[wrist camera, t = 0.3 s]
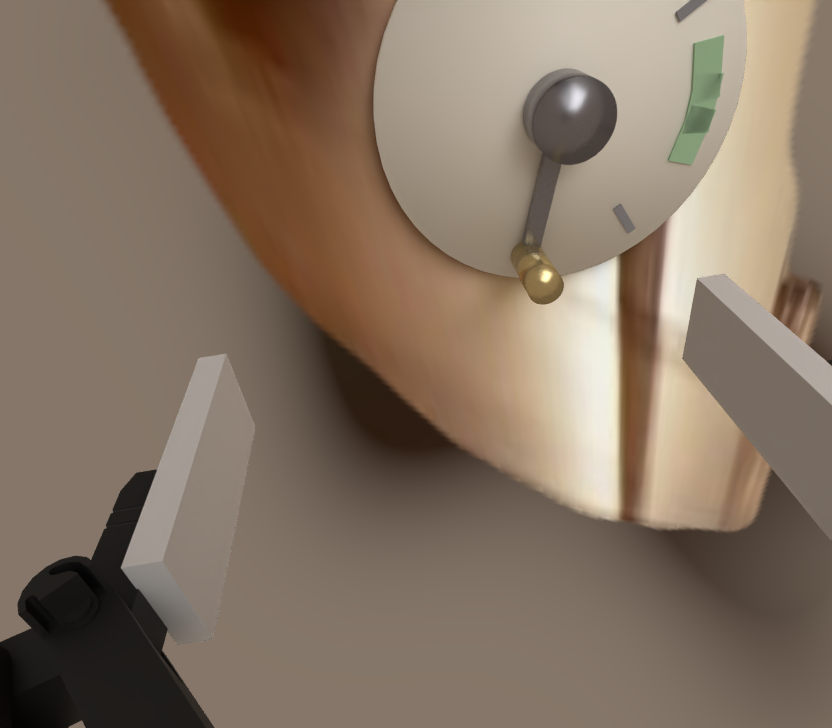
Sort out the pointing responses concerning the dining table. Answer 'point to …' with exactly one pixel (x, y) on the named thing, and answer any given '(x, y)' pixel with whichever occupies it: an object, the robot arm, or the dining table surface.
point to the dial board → (504, 131)
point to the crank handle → (558, 160)
